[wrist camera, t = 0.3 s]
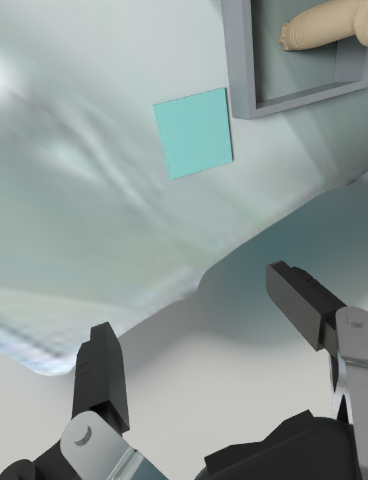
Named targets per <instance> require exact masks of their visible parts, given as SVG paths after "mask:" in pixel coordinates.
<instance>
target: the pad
mask: <svg viewBox="0 0 368 480" xmlns="http://www.w3.org/2000/svg"><path fill="white" fill-rule="evenodd" d="M153 109H154V113H155V117H156V121H157V125H158V130H159V134H160V138H161V142H162V146H163V150H164V154H165V159H166V163H167V167H168V171H169V175H170V179H174V178H178V177H181V176H184V175H188V174H191V173H194V172H198V171H201V170H205V169H208V168H211V167H215V166H218V165H221V164H225V163H228V162H231V161H232V153H231V143H230V134H229V124H228V115H227V105H226V96H225V88H220V89H216V90H212V91H208V92H204V93H200V94H196V95H193V96H189V97H185V98H181V99H177V100H173V101H169V102H165V103H161V104H157V105H153Z"/></svg>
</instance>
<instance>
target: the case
mask: <svg viewBox="0 0 368 480" xmlns="http://www.w3.org/2000/svg"><path fill="white" fill-rule="evenodd" d="M221 4H222V14H223V24H224V35H225V45H226V55H227V65H228V76H229V86H230V96H231V107H232V117H233V118H240V119H247V120H251V119H254V118H258V117H262V116H265V115H269V114H272V113H276V112H280V111H283V110H287V109H291V108H294V107H298V106H301V105H305V104H309V103H312V102H316V101H319V100H323V99H327V98H330V97H334V96H337V95H341V94H345V93H348V92H352V91H355V90H359V89H363V88H366V87H367V84H368V47H367V46H364V45H362V44H361V43H360V42H359V40H358V38H357V36H356V34H355V35H352V36H349V37H346V38H343V39H340V40H337V52H336V64H335V75H334V83H330V84H327V85H323V86H319V87H316V88H312V89H308V90H304V91H301V92H297V93H293V94H290V95H286V96H282V97H278V98H275V99H271V100H267V101H263V102H260V103H256V98H255V79H254V60H253V41H252V22H251V3H250V0H221Z"/></svg>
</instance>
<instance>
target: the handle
mask: <svg viewBox="0 0 368 480" xmlns="http://www.w3.org/2000/svg"><path fill="white" fill-rule="evenodd" d="M355 34H356V36H357V38H358V40H359V42H360V43H361V44H362V45H364V46H367V47H368V0H330V1H327V2H324V3H321V4H318V5H316V6H314V7H311V8H309V9H307V10H306V11H304V12H302V13H300V14H299V15H297V16H295V17H294V18H293V19H292V20H291V21H287V22H286V23H285V24H283V25H282V27H281V34H280V37H279V39H278V42H279V43H280V44H281V45H282V47H283V50H285V51H290V50H291V49H292V50H304V49H310V48H315V47H319V46H322V45H325V44H328V43H331V42H334V41H337V40H340V39H343V38H346V37H349V36H352V35H355Z"/></svg>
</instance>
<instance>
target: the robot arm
mask: <svg viewBox="0 0 368 480" xmlns="http://www.w3.org/2000/svg"><path fill="white" fill-rule="evenodd" d="M266 288H267V292H268V294H269V296H270V298H271V299H272V301H273V302H274V303H275V304H276V305H277V306H278V308H279V309H280V310H281V311H282V312H283V313H284V315H285V316H286V317H287V318H288V319H289V320H290V322H291V323H292V324H293V325H294V326H295V327H296V328H297V330H298V331H299V332H300V333H301V334H302V335H303V337H304V338H305V339H306V340H307V341H308V342H309V344H310V345H311V346H312V347H313V348H314V349H315V350H316V351H319V350H321V349H324V348H325V349H326V350H327V351H328V352H329V366H330V379H331V390H332V418H326V417H313V415H312V414H311V412H310V411H309V410H306V411H304V412H302V413H300V414H297V415H295V416H293V417H291V418H289V419H286V420H284V421H283V422H282V423H281V424H280V425H279V426H278V427H277V428H276V429H275V430H274V431H273V432H272V433H271V434H270V435H269V436H267V437H266V439H264V440H263V441H261V442H253V443H245V444H236V445H230V446H228V447H226V448H224V449H221V450H219V451H217V452H215V453H213V454H211V455H209V456H206V457H205V458H204V459H205V462H206V467H205V468H204V469H203V470H201V472H200V473H199V474H198V475H197V476H196V478H195V480H368V312H367V311H366V310H364V309H361V308H358V307H353V306H347V305H345V304H344V303H343V302H342V301H341V300H339V299H338V298H337V297H336V296H335V295H333V294H332V293H331V292H330V291H329V290H327V289H326V288H325V287H324V286H323V285H320V283H319V282H318V281H317V280H316V279H313V277H312V276H311V275H310V274H308V273H307V272H306V271H304V270H302V269H299V268H297V267H292V268H290V267H289V266H288V265H287V264H286V263H285V262H284V261H282V260H280V261H277V262H274V263H272V264H269V265H267V266H266ZM75 376H76V378H75V385H74V399H73V410H72V418H71V421H70V422H69V424H68V425H67V426H66V428H65V430H64V432H63V434H62V437H61V439H60V440H59V441H58V442H57V443H56V444H55V445H53V446H52V447H51V448H50V449H49V450H47V451H46V452H45V453H44V454H42V455H41V456H39V457H38V458H37V459H36V460H34V461H33V462H31V461H30V460H27V459H22V460H19V461H16V462H14V463H13V464H11V465H10V466H8V467H7V468H6V469H5V470H4V471H3V472H2V473H1V474H0V480H169V479H168V478H166V477H165V476H164V475H163V474H162V473H161V472H160V471H159V470H158V469H157V468H156V467H155V466H154V465H153V464H152V463H151V462H150V461H149V460H148V459H147V458H145V457H144V456H143V455H142V454H141V453H140V452H139V451H138V450H135V449H134V448H132V447H131V446H130V445H129V444H128V443H127V442H126V441H125V440H124V439H123V438H122V433H124V432H126V431H129V430H130V426H129V416H128V406H127V396H126V385H125V375H124V365H123V355H122V350H121V346H120V343H119V341H118V339H117V337H116V335H115V333H114V331H113V329H112V328H111V326H110V324H109V322H105V323H102V324H100V325H97V326H94V327H92V328H91V335H90V341H87V342H85V343H82V345H81V347H80V349H79V352H78V354H77V360H76V372H75Z"/></svg>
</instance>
